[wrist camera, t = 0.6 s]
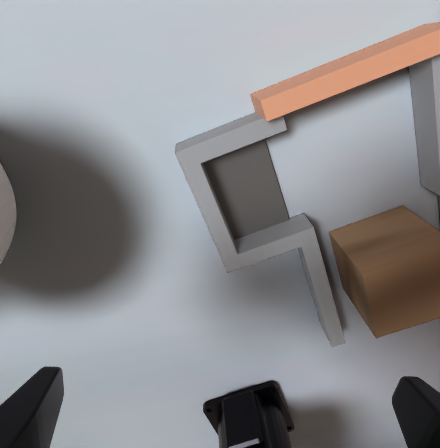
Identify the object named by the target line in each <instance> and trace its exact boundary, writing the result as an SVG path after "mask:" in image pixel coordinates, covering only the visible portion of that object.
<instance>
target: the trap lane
mask: <svg viewBox="0 0 440 448" xmlns="http://www.w3.org/2000/svg"><path fill="white" fill-rule="evenodd" d="M407 66H409V74H410V83H411V93H412V103H413V113H414V123H415V133H416V142H417V152H418V162H419V172H420V182H421V186H423V187H425V188H427V189H428V190H430V191H432V192H434V193H436V194H437V195H438V205H439V218H440V22H438V23H431V24H424V25H422V26H419V27H417V28H414V29H412V30H409V31H407V32H404V33H402V34H399V35H397V36H394V37H392V38H389V39H387V40H384V41H382V42H379V43H377V44H374V45H372V46H369V47H367V48H364V49H362V50H359V51H357V52H354V53H352V54H349V55H347V56H344V57H342V58H339V59H337V60H334V61H332V62H329V63H327V64H324V65H322V66H319V67H317V68H314V69H312V70H309V71H307V72H304V73H302V74H299V75H297V76H294V77H292V78H289V79H287V80H284V81H282V82H279V83H277V84H274V85H272V86H269V87H267V88H264V89H262V90H259V91H257V92H254V93H252V94H250V95H251V98H252V102H253V105H254V108H255V111H256V112H255V113H253V114H250V115H248V116H245V117H243V118H240V119H237V120H235V121H232V122H230V123H227V124H225V125H222V126H220V127H217V128H215V129H212V130H210V131H207V132H205V133H202V134H200V135H197V136H194V137H192V138H189V139H187V140H184V141H182V142H179V143H177V144H176V148H175V154H176V157H177V159H178V161H179V164H180V166H181V168H182V170H183V173H184V175H185V177H186V179H187V182H188V184H189V186H190V189H191V191H192V193H193V195H194V198H195V200H196V202H197V205H198V207H199V209H200V211H201V214H202V216H203V218H204V220H205V223H206V225H207V227H208V230H209V232H210V234H211V236H212V239H213V241H214V243H215V246H216V248H217V250H218V252H219V255H220V257H221V259H222V261H223V264H224V266H225V268H226V271H227V273H229V272H232V271H234V270H237V269H240V268H243V267H246V266H249V265H251V264H254V263H257V262H260V261H263V260H265V259H268V258H271V257H274V256H277V255H280V254H282V253H285V252H288V251H291V250H294V249H296V248H298V250H299V254H300V257H301V260H302V263H303V267H304V270H305V273H306V276H307V280H308V283H309V286H310V289H311V292H312V296H313V299H314V302H315V305H316V309H317V312H318V315H319V318H320V322H321V325H322V328H323V330H324V332H325V334H326V336H327V338H328V340H329V342H330V344H331V346H332V347H335V346H338V345H341V344H344V343H345V339H344V336H343V332H342V328H341V325H340V321H339V317H338V314H337V310H336V306H335V303H334V299H333V295H332V292H331V288H330V284H329V281H328V277H327V274H326V270H325V266H324V263H323V259H322V255H321V252H320V248H319V244H318V241H317V237H316V233H315V230H314V227H313V225H312V224H311V223H310V221H309V220H308V219H307V217H306V216H305V214H304V213H303V214H300V215H297V216H294V217H292V218H289V217H288V213H287V210H286V207H285V204H284V201H283V197H282V194H281V191H280V188H279V184H278V181H277V178H276V175H275V171H274V168H273V165H272V162H271V158H270V155H269V152H268V149H267V145H266V142H265V138H267V137H270V136H272V135H275V134H278V133H280V132H283V131H285V130H287V128H286V124H285V120H284V117H283V115H285V114H287V113H290V112H293V111H295V110H298V109H300V108H303V107H305V106H308V105H310V104H313V103H316V102H318V101H321V100H323V99H326V98H328V97H331V96H333V95H336V94H339V93H341V92H344V91H346V90H349V89H351V88H354V87H356V86H359V85H362V84H364V83H367V82H369V81H372V80H374V79H377V78H379V77H382V76H384V75H387V74H390V73H392V72H395V71H397V70H400V69H402V68H405V67H407Z"/></svg>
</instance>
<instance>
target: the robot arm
mask: <svg viewBox="0 0 440 448" xmlns="http://www.w3.org/2000/svg"><path fill="white" fill-rule="evenodd" d="M63 396H64V385H63V374H62V369H61V368H60V367H43V368H41V369H40V370H39V371H38V372H37V373H36V374H35V375H33V376H32V377H31V378H30V379H29V380H28V381H27V382H26V383H25V384H23V385H22V386H21V387H20V388H19V389H18V390H17V391H16V392H15V393H14V394H12V395H11V396H10V397H9V398H8V399H7V400H6V401H5V402H4V403H2V404H1V405H0V448H49V447H50V444H51V440H52V437H53V433H54V430H55V426H56V422H57V419H58V415H59V412H60V408H61V405H62V401H63ZM392 405H393V408H394V411H395V414H396V416H397V419H398V422H399V425H400V427H401V430H402V433H403V436H404V439H405V441H406V444H407V447H408V448H440V393H439V392H438V391H436V390H435V389H434V388H432V387H431V386H430V385H428V384H427V383H426V382H424V381H423V380H422V379H420V378H418V377H411V376H404V377H402V378H401V379H400V381H399V383H398V385H397V387H396V389H395V392H394V394H393V396H392ZM203 411H204V413H205V415H206V417H207V418H208V420H209V421H210V423H211V425H212V426H213V428H214V429H215V431H216V433H217V434H218V436H219V448H292V446H291V443H290V439H289V435H288V432H290V431H292V430H294V424H293V421H292V419H291V416H290V414H289V412H288V410H287V407H286V405H285V403H284V400H283V398H282V396H281V394H280V391H279V389H278V387H277V384H276V383H275V382H268V383H265V384H262V385H259V386H256V387H252V388H249V389H246V390H243V391H240V392H237V393H234V394H231V395H228V396H224V397H221V398H218V399H215V400H212V401H209V402H206V403H205V404H204V405H203Z"/></svg>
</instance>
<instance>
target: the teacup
mask: <svg viewBox="0 0 440 448" xmlns="http://www.w3.org/2000/svg"><path fill="white" fill-rule="evenodd" d="M16 217H17V211H16V202H15V197H14V193H13V189H12V186H11V184H10V181H9V179H8V177H7V175H6V172H5V170H4V168H3V166H2V164H1V163H0V264H1V262H2V261H3V259H4V257H5V255H6V253H7V251H8V249H9V247H10V244H11V242H12V239H13V235H14V231H15V226H16Z"/></svg>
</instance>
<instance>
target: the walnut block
mask: <svg viewBox="0 0 440 448" xmlns="http://www.w3.org/2000/svg"><path fill="white" fill-rule="evenodd" d="M329 235H330V239H331V243H332V247H333V251H334V255H335V259H336V263H337V267H338V271H339V275H340V279H341V282H342V286H343V289H344V291H345V292H346V294H347V295H348V297H349V298H350V300H351V301H352V303H353V304H354V306H355V307H356V309H357V310H358V312H359V313H360V315H361V316H362V318H363V319H364V321H365V322H366V324H367V325H368V327H369V328H370V330H371V331H372V333H373V334H374V336H375V338H378V337H382V336H385V335H388V334H391V333H394V332H397V331H400V330H403V329H406V328H409V327H412V326H415V325H419V324H422V323H425V322H428V321H431V320H434V319H437V318H440V231H439V230H437V229H436V228H434V227H433V226H432V225H430V224H429V223H427V222H426V221H424V220H423V219H422V218H420V217H419V216H417V215H416V214H414V213H413V212H412V211H410V210H409V209H407V208H406V207H404V206H403V205H402V206H400V207H397V208H394V209H391V210H388V211H386V212H383V213H380V214H377V215H374V216H372V217H369V218H366V219H363V220H360V221H358V222H355V223H352V224H349V225H346V226H343V227H341V228H338V229H335V230H332V231H329Z"/></svg>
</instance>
